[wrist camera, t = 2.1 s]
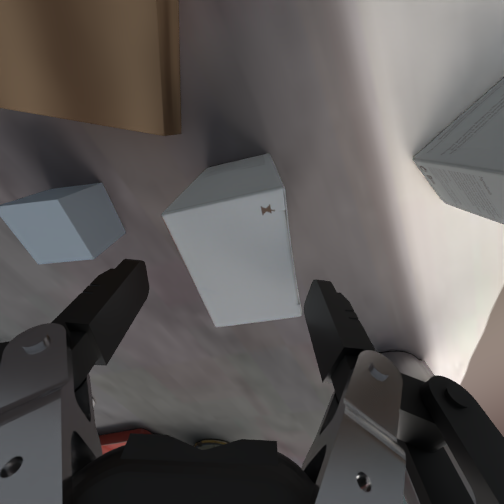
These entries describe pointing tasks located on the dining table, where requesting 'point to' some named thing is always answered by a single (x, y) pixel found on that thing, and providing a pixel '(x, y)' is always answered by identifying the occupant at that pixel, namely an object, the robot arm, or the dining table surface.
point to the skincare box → (470, 158)
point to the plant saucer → (117, 439)
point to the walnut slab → (93, 61)
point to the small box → (237, 242)
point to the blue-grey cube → (64, 223)
